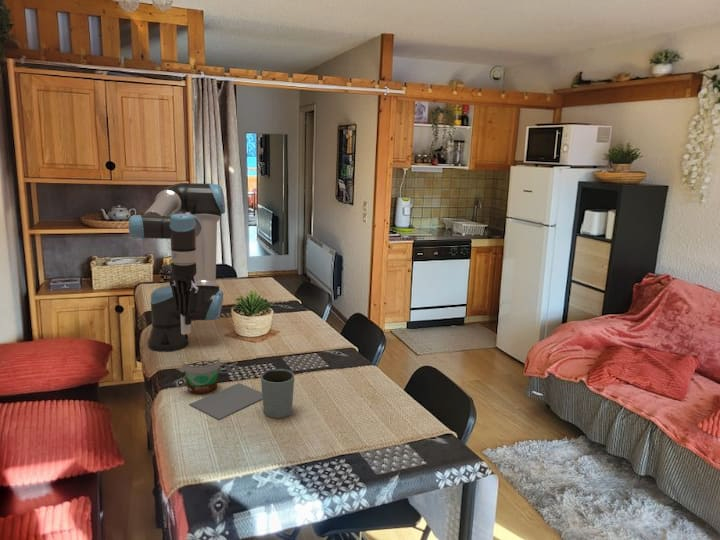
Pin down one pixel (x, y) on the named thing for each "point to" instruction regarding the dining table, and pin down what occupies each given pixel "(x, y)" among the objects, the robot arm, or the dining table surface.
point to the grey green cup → (277, 392)
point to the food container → (202, 376)
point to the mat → (228, 401)
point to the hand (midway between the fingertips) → (186, 333)
